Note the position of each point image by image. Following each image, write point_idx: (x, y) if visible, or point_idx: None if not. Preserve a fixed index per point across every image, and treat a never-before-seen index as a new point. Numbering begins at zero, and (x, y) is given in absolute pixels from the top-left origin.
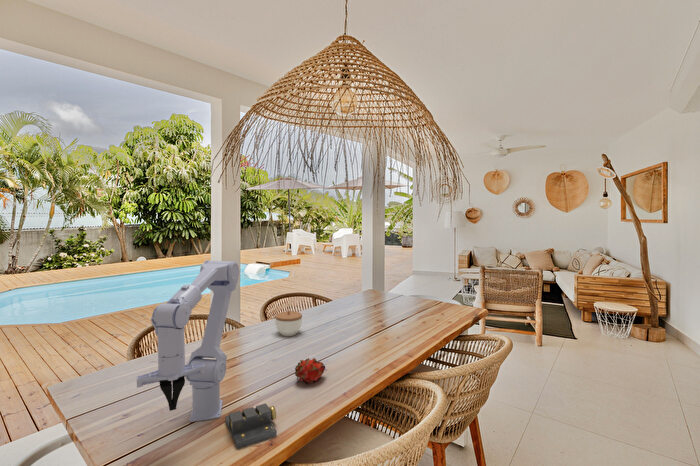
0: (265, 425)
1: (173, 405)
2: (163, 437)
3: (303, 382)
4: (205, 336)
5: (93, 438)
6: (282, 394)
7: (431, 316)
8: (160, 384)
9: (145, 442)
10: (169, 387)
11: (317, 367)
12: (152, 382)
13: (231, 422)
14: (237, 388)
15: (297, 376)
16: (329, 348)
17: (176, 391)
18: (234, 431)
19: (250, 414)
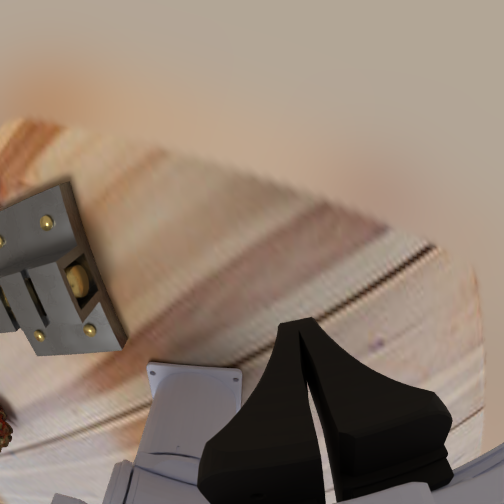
0: (3, 257)
1: (295, 333)
2: (314, 317)
3: (2, 408)
4: None
5: (465, 347)
6: (23, 391)
7: None
8: (439, 450)
9: (364, 306)
10: (365, 420)
11: None
12: (492, 455)
13: (73, 282)
14: None
15: (7, 425)
16: (11, 471)
17: (283, 400)
18: (69, 248)
19: (16, 289)
